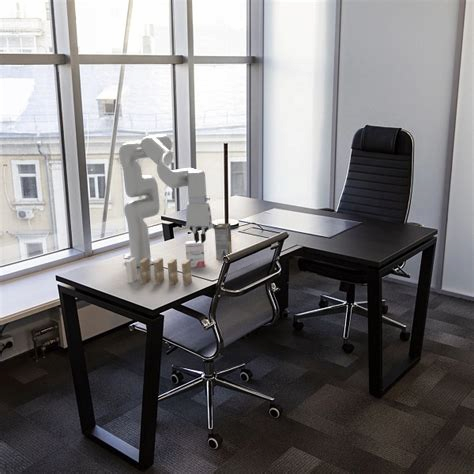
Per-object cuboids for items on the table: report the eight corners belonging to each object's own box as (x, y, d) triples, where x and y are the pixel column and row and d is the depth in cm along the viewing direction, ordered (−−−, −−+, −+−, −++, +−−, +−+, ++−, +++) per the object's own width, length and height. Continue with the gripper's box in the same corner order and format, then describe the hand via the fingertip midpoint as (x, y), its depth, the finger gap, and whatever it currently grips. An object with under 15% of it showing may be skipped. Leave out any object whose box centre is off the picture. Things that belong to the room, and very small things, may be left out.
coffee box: (219, 253, 301) (218, 223, 296) (232, 254, 299) (230, 223, 295) (216, 259, 292) (214, 228, 288) (228, 259, 291) (227, 228, 286)
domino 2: (155, 284, 261) (153, 262, 259) (160, 279, 267) (158, 258, 264) (159, 284, 261) (157, 262, 258) (164, 279, 266) (162, 258, 264)
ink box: (204, 263, 287) (203, 239, 284) (204, 266, 282) (203, 242, 279) (186, 264, 286) (185, 241, 283) (186, 267, 281) (185, 244, 278)
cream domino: (128, 282, 265) (125, 261, 262) (133, 278, 270) (131, 257, 268) (132, 282, 264) (130, 261, 261) (137, 278, 270) (135, 257, 267)
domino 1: (141, 283, 263) (139, 261, 260) (146, 278, 269) (144, 257, 266) (145, 283, 262) (143, 262, 260) (150, 279, 268) (149, 257, 265)
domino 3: (169, 284, 260) (167, 263, 257) (173, 280, 265) (172, 258, 263) (173, 284, 259) (171, 263, 257) (178, 280, 265) (176, 258, 262)
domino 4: (183, 285, 258) (181, 263, 256) (187, 280, 264) (186, 259, 261) (187, 285, 258) (186, 263, 255) (191, 280, 263) (190, 259, 261)
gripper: (218, 198, 251) (220, 240, 255) (182, 197, 254) (185, 239, 259) (213, 202, 244) (215, 245, 248) (176, 201, 247) (179, 243, 252)
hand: (200, 241), depth 254 cm, fingers closed
